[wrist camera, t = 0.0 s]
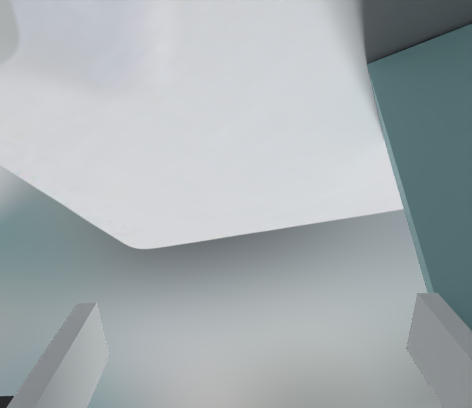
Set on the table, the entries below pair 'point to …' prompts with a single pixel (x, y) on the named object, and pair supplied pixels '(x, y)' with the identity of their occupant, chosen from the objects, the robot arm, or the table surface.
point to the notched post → (433, 155)
